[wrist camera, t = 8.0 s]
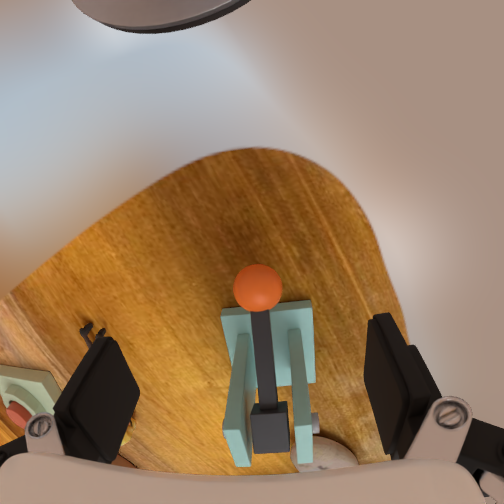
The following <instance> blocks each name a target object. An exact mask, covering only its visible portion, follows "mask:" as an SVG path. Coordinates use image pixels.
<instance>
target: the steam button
mask: <svg viewBox="0 0 504 504" xmlns="http://www.w3.org/2000/svg"><path fill="white" fill-rule="evenodd" d="M6 413H7V415H8V416H9V418H10V419H11V420H12V421H13V422H14V423H15V424H17V425H18V426H20V427H22V428H24V429H25V426H26V423H27V422H28V420H29V419H30V418H31V417H32V415H31V414H30V412H29V411H28V410H27V409H26V408H25V407H24V406H22V405H21V404H19V403H18V402H16V401H12V402H11V404H10V405H9V406H8V408H7V409H6Z"/></svg>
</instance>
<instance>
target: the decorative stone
mask: <svg viewBox="0 0 504 504" xmlns="http://www.w3.org/2000/svg"><path fill="white" fill-rule="evenodd" d="M290 458H291V460H292V463H293V464H294V466H295V467H296V468H297V469H298V470H299V472H300V473H302V472H312V471H321V470H330V469H338V468H345V467H352V466H358V465H359V464H358V461H357V459H356V457H355V456H354V455H353V454H352V452H351V451H350V450H348V449H347V448H346V447H345V446H343V445H341V444H339V443H338V442H335V441H333V440H330V439H328V438H324V437H319V436H313V462H312V463H302V464H298V463H297V452H296V441H295V442H294V444H293V445H292V447H291V454H290Z"/></svg>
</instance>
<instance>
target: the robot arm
mask: <svg viewBox="0 0 504 504" xmlns="http://www.w3.org/2000/svg"><path fill="white" fill-rule="evenodd" d="M364 382H365V386H366V389H367V393H368V396H369V399H370V403H371V406H372V410H373V413H374V417H375V420H376V424H377V427H378V431H379V435H380V438H381V442H382V446H383V449H384V453H385V454H386V455H387V454H390V456H391V461H384V462H378V463H371V464H364V465H358V466H352V467H345V468H338V469H330V470H321V471H312V472H302V473H290V474H275V475H244V476H226V475H197V474H181V473H170V472H160V471H151V470H143V469H136V468H129V467H122V466H116V465H111V463H112V461H114V460H115V459H116V457H117V454H118V452H119V449H120V446H121V443H122V441H123V438H124V435H125V433H126V430H127V427H128V425H129V422H130V420H131V417H132V414H133V412H134V409H135V407H136V404H137V401H138V399H139V396H140V390H139V387H138V385H137V383H136V381H135V379H134V377H133V375H132V373H131V371H130V369H129V367H128V365H127V362H126V360H125V358H124V356H123V354H122V352H121V349H120V347H119V345H118V343H117V341H115V340H114V339H113V338H112V337H97V338H96V339H95V341H94V342H93V344H92V345H91V347H90V348H89V350H88V351H87V353H86V355H85V356H84V358H83V359H82V361H81V362H80V364H79V366H78V367H77V369H76V370H75V372H74V374H73V375H72V377H71V378H70V380H69V382H68V383H67V385H66V387H65V388H64V390H63V391H62V393H61V395H60V396H59V398H58V400H57V401H56V403H55V405H54V407H53V408H52V409H53V410H54V412H55V413H54V415H52V414H50V413H48V412H41V413H37V414H35V415H34V416H32V417H31V418H30V419H29V420H28V422H27V423H26V426H25V435H24V436H21V437H19V438H17V439H15V440H13V441H11V442H9V443H7V444H5V445H2V446H0V504H487V503H486V501H485V499H484V497H489V496H490V497H492V498H493V499H494V500H495V501H497V502H496V503H495V504H504V429H503V428H500V427H497V426H494V425H491V424H488V423H485V422H483V421H479V420H477V419H474V418H472V410H471V407H470V406H469V404H468V403H467V402H466V401H464V400H463V399H461V398H458V397H454V396H446V397H442V396H441V393H440V391H439V389H438V387H437V385H436V383H435V381H434V380H433V377H432V375H431V374H430V372H429V370H428V368H427V366H426V364H425V362H424V360H423V358H422V356H421V354H420V353H419V351H418V349H417V347H416V346H415V345H408V346H407V344H406V342H405V340H404V338H403V336H402V334H401V332H400V331H399V329H398V327H397V325H396V323H395V321H394V319H393V318H392V316H391V314H390V313H389V312H388V313H382V314H376V315H374V316H373V319H370V320H368V329H367V343H366V354H365V365H364Z"/></svg>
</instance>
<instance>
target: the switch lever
mask: <svg viewBox="0 0 504 504" xmlns="http://www.w3.org/2000/svg"><path fill="white" fill-rule="evenodd" d="M233 292H234V296H235V299H236V301H237V302H238V304H239V305H240V306H241V307H242V308H244V309H245V310H247V311H250V315H251V326H252V336H253V346H254V356H255V366H256V376H257V386H258V396H259V403H254V405H253V408H252V410H251V413H250V422H251V431H252V440H253V449H254V454H262V453H280V452H290V430H289V418H288V406H287V401H281V402H278V396H277V385H276V374H275V363H274V352H273V342H272V331H271V321H270V311H269V310H270V309H272V308H273V307H274V306H275V305H276V304H277V303H278V302H279V300H280V298H281V295H282V282H281V279H280V277H279V275H278V274H277V273H276V271H274V270H273V269H272V268H270V267H269V266H266V265H263V264H253V265H249V266H247V267H245V268H244V269H242V270H241V271H240V272H239V273H238V275H237V276H236V278H235V281H234V285H233Z"/></svg>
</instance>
